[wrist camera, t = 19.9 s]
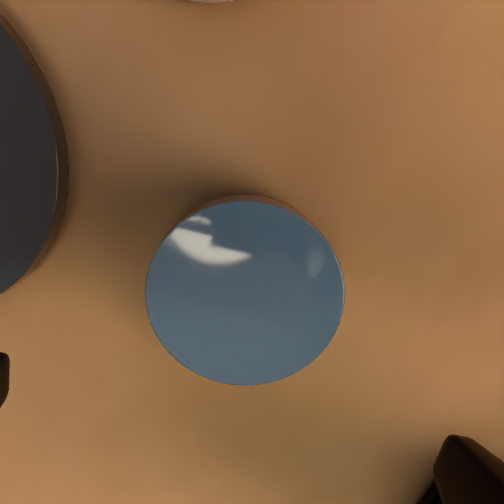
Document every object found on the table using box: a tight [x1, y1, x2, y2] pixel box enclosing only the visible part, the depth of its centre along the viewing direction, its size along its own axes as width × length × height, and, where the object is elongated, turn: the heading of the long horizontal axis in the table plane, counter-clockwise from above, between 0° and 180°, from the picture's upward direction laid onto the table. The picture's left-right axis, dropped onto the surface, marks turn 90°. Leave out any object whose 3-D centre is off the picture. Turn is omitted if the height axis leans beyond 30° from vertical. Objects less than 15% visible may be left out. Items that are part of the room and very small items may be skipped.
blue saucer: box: [145, 194, 345, 385], centre depth 14 cm, size 7×7×2 cm
